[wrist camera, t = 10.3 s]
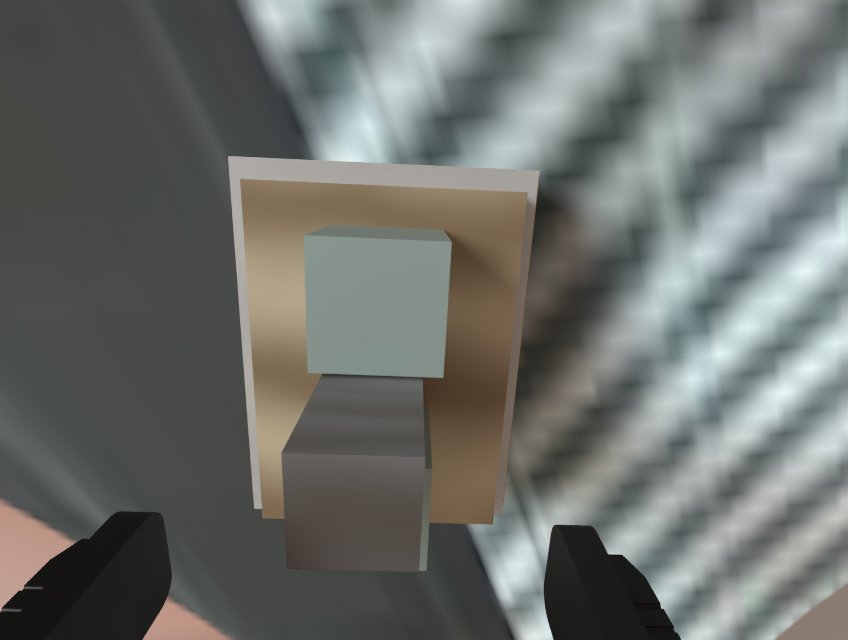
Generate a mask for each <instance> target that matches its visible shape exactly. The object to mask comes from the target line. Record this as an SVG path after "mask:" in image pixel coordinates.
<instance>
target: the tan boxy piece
mask: <svg viewBox="0 0 848 640" xmlns="http://www.w3.org/2000/svg"><path fill="white" fill-rule="evenodd" d="M240 186H241V201H242V216H243V231H244V246H245V261H246V276H247V291H248V306H249V321H250V336H251V351H252V366H253V381H254V396H255V411H256V426H257V441H258V456H259V471H260V486H261V501H262V516H263V518H275V519H285V537H286V557H287V569H318V570H360V571H403V572H419V565H420V546H421V527H422V508H423V488H424V469H425V437H424V409H429V419H430V437H431V455H432V483H431V500H430V517H429V523H464V524H493V517H494V507H495V498H496V488H497V479H498V469H499V460H500V450H501V441H502V431H503V422H504V413H505V403H506V394H507V384H508V375H509V365H510V356H511V346H512V337H513V327H514V318H515V308H516V299H517V289H518V280H519V270H520V261H521V252H522V242H523V233H524V223H525V214H526V204H527V195H528V192H509V191H488V190H467V189H445V188H424V187H403V186H382V185H361V184H339V183H318V182H297V181H276V180H255V179H240ZM329 225H350V226H372V227H394V228H416V229H439V230H444V231H445V233H446V234H447V236H448V237H449V239H450V240H451V241H452V246H451V262H450V279H449V295H448V311H447V327H446V343H445V359H444V375H443V378H433V377H405V376H377V375H349V374H321V373H308V368H307V334H306V301H305V267H304V235H306V234H308V233H311V232H313V231H316V230H319V229H321V228H324V227H326V226H329Z"/></svg>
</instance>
